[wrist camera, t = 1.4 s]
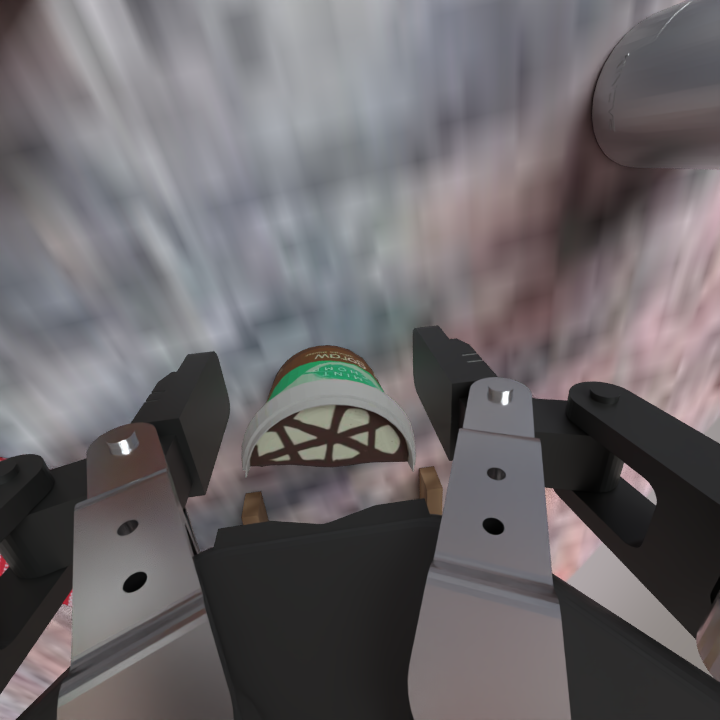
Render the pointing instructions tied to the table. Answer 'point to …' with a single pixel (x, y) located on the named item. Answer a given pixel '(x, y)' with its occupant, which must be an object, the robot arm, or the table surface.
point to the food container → (327, 416)
